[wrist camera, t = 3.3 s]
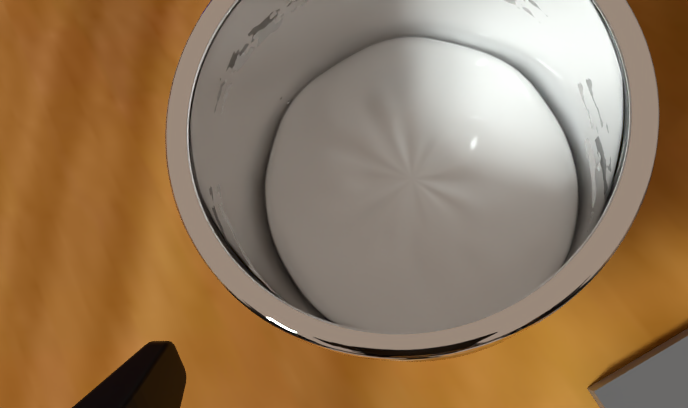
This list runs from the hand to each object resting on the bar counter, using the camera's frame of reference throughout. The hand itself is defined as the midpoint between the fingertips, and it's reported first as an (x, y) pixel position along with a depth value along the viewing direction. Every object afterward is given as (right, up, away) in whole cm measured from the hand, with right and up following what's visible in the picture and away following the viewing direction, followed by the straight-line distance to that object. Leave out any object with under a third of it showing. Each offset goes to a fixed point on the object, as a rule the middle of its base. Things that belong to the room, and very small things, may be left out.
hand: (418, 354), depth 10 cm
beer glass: (+2, +1, +12) cm, 13 cm away
